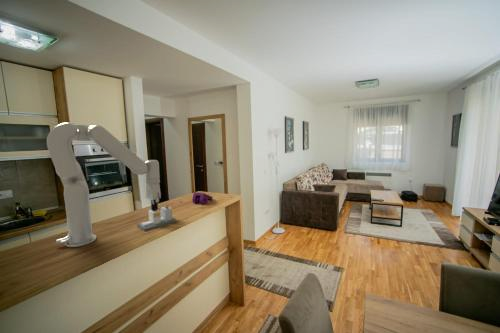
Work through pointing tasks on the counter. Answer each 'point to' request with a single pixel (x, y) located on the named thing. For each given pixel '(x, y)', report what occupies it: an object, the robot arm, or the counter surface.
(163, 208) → the mounting board
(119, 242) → the counter surface
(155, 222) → the rail module
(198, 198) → the purple rounded lump
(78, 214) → the robot arm
